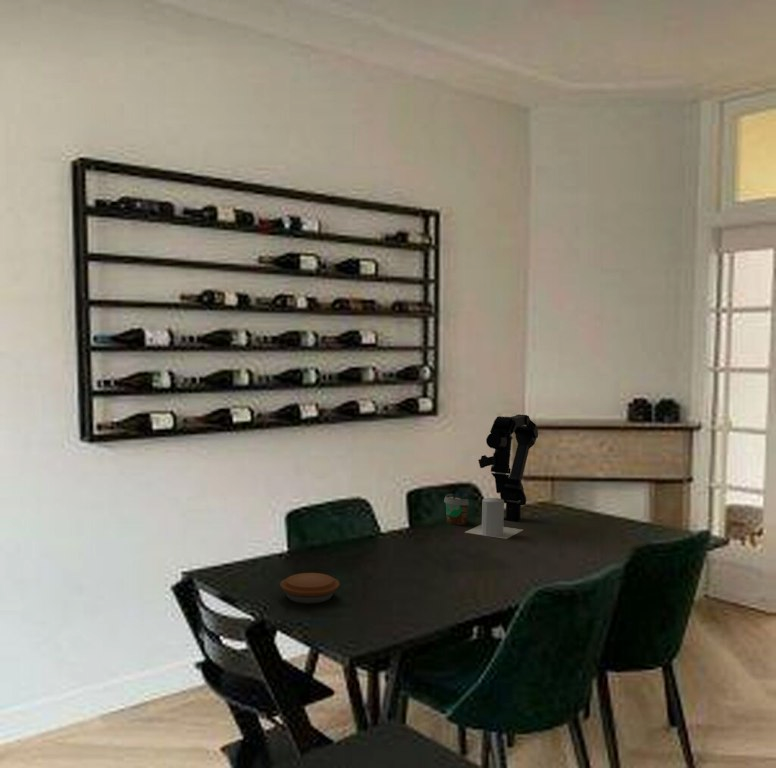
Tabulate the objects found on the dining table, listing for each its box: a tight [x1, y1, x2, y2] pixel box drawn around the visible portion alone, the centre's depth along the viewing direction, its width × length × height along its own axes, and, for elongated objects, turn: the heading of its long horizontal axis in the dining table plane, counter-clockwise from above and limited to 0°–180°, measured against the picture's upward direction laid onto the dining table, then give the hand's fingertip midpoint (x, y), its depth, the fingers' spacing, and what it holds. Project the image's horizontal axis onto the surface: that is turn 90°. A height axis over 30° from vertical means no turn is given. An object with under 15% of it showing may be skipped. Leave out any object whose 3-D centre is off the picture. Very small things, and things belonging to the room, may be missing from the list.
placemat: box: [464, 523, 523, 540], centre depth 277 cm, size 16×16×1 cm
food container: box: [443, 493, 470, 526], centre depth 289 cm, size 12×6×10 cm, turn 25°
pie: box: [279, 572, 341, 605], centre depth 203 cm, size 16×16×5 cm
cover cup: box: [481, 497, 505, 537], centre depth 273 cm, size 7×7×12 cm
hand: (498, 492), depth 284 cm, fingers open, 9 cm apart
